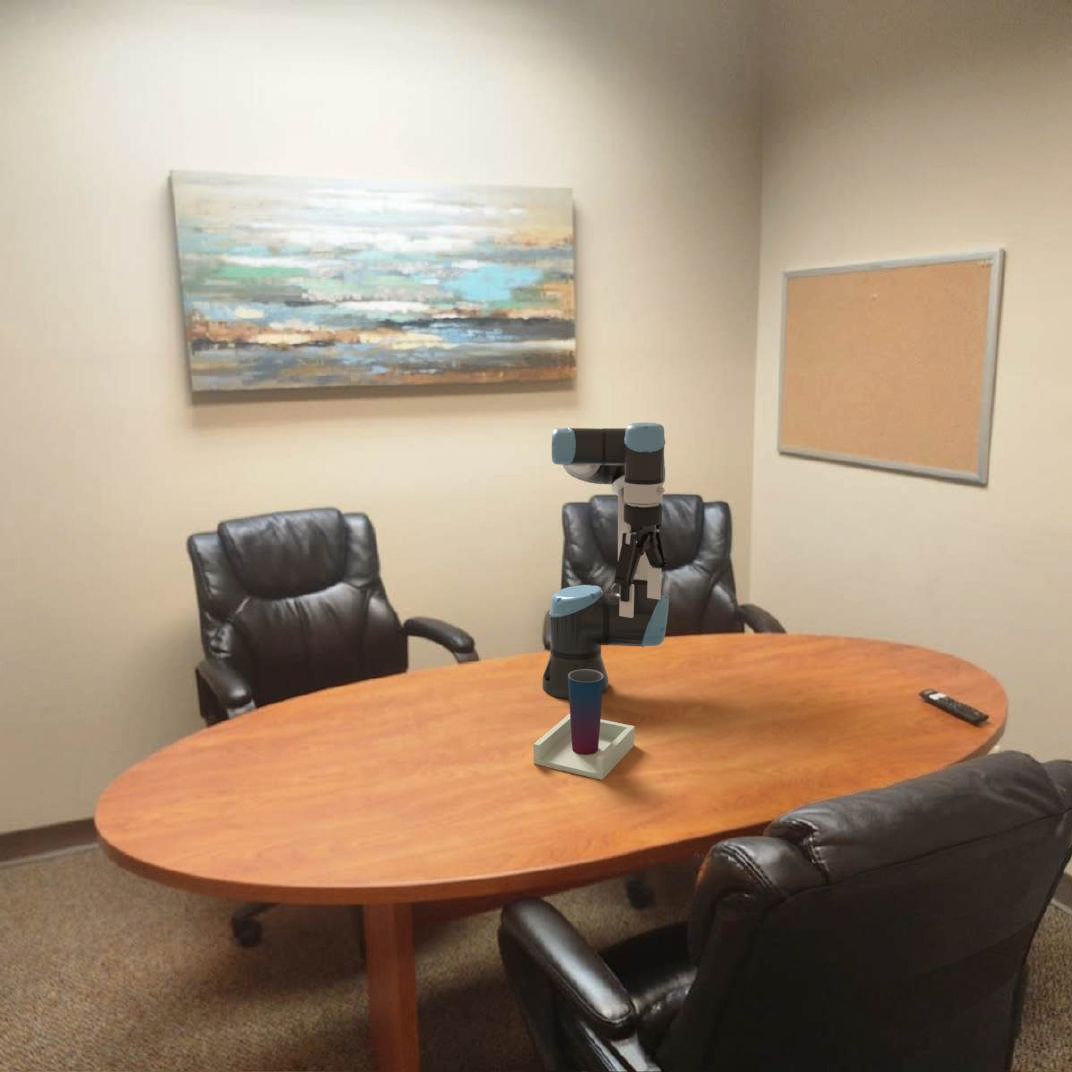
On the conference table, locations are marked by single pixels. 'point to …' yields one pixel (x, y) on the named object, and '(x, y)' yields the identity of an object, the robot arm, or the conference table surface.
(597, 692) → the cup
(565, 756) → the open sided tray
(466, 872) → the conference table surface
